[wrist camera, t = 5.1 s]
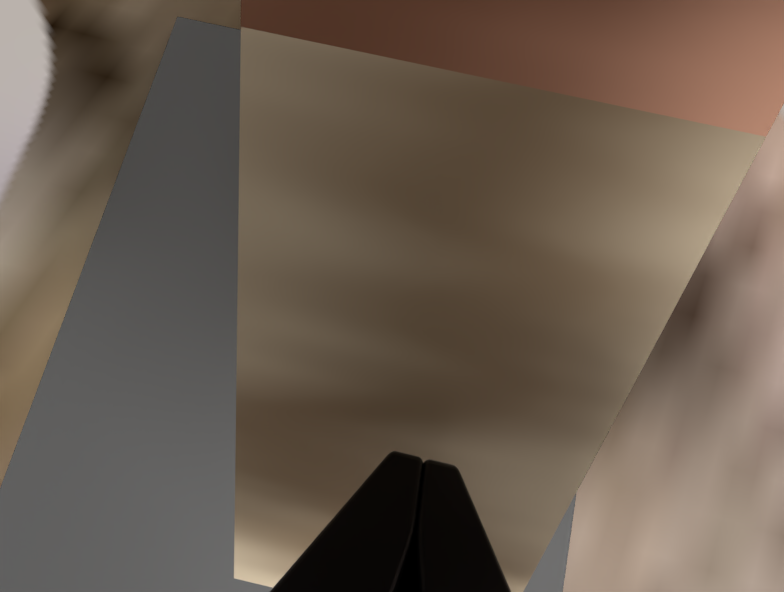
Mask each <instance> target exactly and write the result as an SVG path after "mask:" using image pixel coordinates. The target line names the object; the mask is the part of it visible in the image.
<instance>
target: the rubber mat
mask: <svg viewBox="0 0 784 592" xmlns="http://www.w3.org/2000/svg"><path fill="white" fill-rule="evenodd" d="M240 55H241V30H239V29H234V28H229V27H225V26H220V25H215V24H210V23H205V22H201V21H196V20H191V19H186V18H182V17H177V19H176V22H175V25H174V27H173V30H172V33H171V35H170V38H169V41H168V43H167V46H166V49H165V51H164V54H163V57H162V59H161V62H160V65H159V67H158V70H157V72H156V75H155V78H154V80H153V83H152V86H151V88H150V91H149V94H148V96H147V99H146V102H145V104H144V107H143V110H142V112H141V115H140V118H139V120H138V123H137V126H136V128H135V131H134V134H133V136H132V139H131V142H130V144H129V147H128V150H127V152H126V155H125V158H124V160H123V163H122V166H121V168H120V171H119V174H118V176H117V179H116V182H115V184H114V187H113V190H112V192H111V195H110V198H109V200H108V203H107V206H106V208H105V211H104V213H103V216H102V219H101V221H100V224H99V227H98V229H97V232H96V235H95V237H94V240H93V243H92V245H91V248H90V251H89V253H88V256H87V259H86V261H85V264H84V267H83V269H82V272H81V275H80V277H79V280H78V283H77V285H76V288H75V291H74V293H73V296H72V299H71V301H70V304H69V307H68V309H67V312H66V315H65V317H64V320H63V323H62V325H61V328H60V331H59V333H58V336H57V339H56V341H55V344H54V347H53V349H52V352H51V354H50V357H49V360H48V362H47V365H46V368H45V370H44V373H43V376H42V378H41V381H40V384H39V386H38V389H37V392H36V394H35V397H34V400H33V402H32V405H31V408H30V410H29V413H28V416H27V418H26V421H25V424H24V426H23V429H22V432H21V434H20V437H19V440H18V442H17V445H16V448H15V450H14V453H13V456H12V458H11V461H10V464H9V466H8V469H7V472H6V474H5V477H4V480H3V482H2V485H1V488H0V592H270V591H271V589H272V587H268V586H264V585H260V584H255V583H251V582H247V581H243V580H239V579H235V578H234V532H235V452H236V373H237V293H238V214H239V134H240ZM575 499H576V494H575V496H574V498H573V499H572V501H571V503H570V505H569V507H568V509H567V511H566V513H565V514H564V516H563V518H562V520H561V522H560V524H559V526H558V528H557V529H556V531H555V533H554V535H553V537H552V539H551V541H550V542H549V544H548V546H547V548H546V550H545V552H544V554H543V556H542V557H541V559H540V561H539V563H538V565H537V567H536V569H535V571H534V572H533V574H532V576H531V578H530V580H529V582H528V584H527V586H526V587H525V589H524V591H523V592H563V585H564V578H565V571H566V564H567V556H568V549H569V542H570V535H571V528H572V521H573V514H574V506H575Z"/></svg>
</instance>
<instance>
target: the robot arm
mask: <svg viewBox="0 0 784 592" xmlns="http://www.w3.org/2000/svg"><path fill="white" fill-rule="evenodd" d="M270 592H511V590H510V587H509V585H508V583H507V580H506V578H505V576H504V573H503V571H502V569H501V566H500V564H499V562H498V559H497V557H496V555H495V552H494V550H493V548H492V545H491V543H490V541H489V538H488V536H487V534H486V531H485V529H484V527H483V524H482V522H481V520H480V517H479V515H478V513H477V510H476V508H475V506H474V503H473V501H472V499H471V496H470V494H469V492H468V489H467V487H466V485H465V482H464V480H463V478H462V475H461V473H460V471H459V469H458V468H457V467H456V466H455V465H452V464H448V463H443V462H439V461H435V460H431V459H428V460H426V461H425V462H424V463H423V461H422V459H421V458H420V457H418V456H415V455H411V454H406V453H402V452H398V451H392V452H390V453H389V454H388V455H387V456H386V457H385V458H384V459H383V460H382V462H381V463H380V464H379V465H378V466H377V467H376V469H375V470H374V471H373V472H372V473H371V474H370V476H369V477H368V478H367V479H366V480H365V481H364V483H363V484H362V485H361V486H360V487H359V488H358V490H357V491H356V492H355V493H354V494H353V495H352V496H351V498H350V499H349V500H348V501H347V502H346V503H345V505H344V506H343V507H342V508H341V509H340V510H339V512H338V513H337V514H336V515H335V516H334V517H333V519H332V520H331V521H330V522H329V523H328V524H327V526H326V527H325V528H324V529H323V530H322V531H321V533H320V534H319V535H318V536H317V537H316V538H315V539H314V541H313V542H312V543H311V544H310V545H309V546H308V548H307V549H306V550H305V551H304V552H303V553H302V555H301V556H300V557H299V558H298V559H297V560H296V562H295V563H294V564H293V565H292V566H291V567H290V569H289V570H288V571H287V572H286V573H285V574H284V576H283V577H282V578H281V579H280V580H279V581H278V582H277V584H276V585H275V586H274V587H273V588H272V589H271V591H270Z"/></svg>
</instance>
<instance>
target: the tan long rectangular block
mask: <svg viewBox="0 0 784 592" xmlns="http://www.w3.org/2000/svg"><path fill="white" fill-rule="evenodd" d="M783 104H784V0H241V55H240V134H239V214H238V293H237V373H236V452H235V532H234V578H235V579H239V580H243V581H247V582H251V583H255V584H260V585H264V586H268V587H272V588H273V587H274V586H275V585H276V584H277V582H278V581H279V580H280V579H281V578H282V577H283V576H284V574H285V573H286V572H287V571H288V570H289V569H290V567H291V566H292V565H293V564H294V563H295V562H296V560H297V559H298V558H299V557H300V556H301V555H302V553H303V552H304V551H305V550H306V549H307V548H308V546H309V545H310V544H311V543H312V542H313V541H314V539H315V538H316V537H317V536H318V535H319V534H320V533H321V531H322V530H323V529H324V528H325V527H326V526H327V524H328V523H329V522H330V521H331V520H332V519H333V517H334V516H335V515H336V514H337V513H338V512H339V510H340V509H341V508H342V507H343V506H344V505H345V503H346V502H347V501H348V500H349V499H350V498H351V496H352V495H353V494H354V493H355V492H356V491H357V490H358V488H359V487H360V486H361V485H362V484H363V483H364V481H365V480H366V479H367V478H368V477H369V476H370V474H371V473H372V472H373V471H374V470H375V469H376V467H377V466H378V465H379V464H380V463H381V462H382V460H383V459H384V458H385V457H386V456H387V455H388V454H389V453H390V452H392V451H398V452H402V453H406V454H411V455H415V456H418V457H420V458H421V459H422V461H423V463H424V462H425V461H426V460H428V459H431V460H435V461H439V462H443V463H448V464H452V465H455V466H456V467H457V468H458V469H459V471H460V473H461V475H462V478H463V480H464V482H465V485H466V487H467V489H468V492H469V494H470V496H471V499H472V501H473V503H474V506H475V508H476V510H477V513H478V515H479V517H480V520H481V522H482V524H483V527H484V529H485V531H486V534H487V536H488V538H489V541H490V543H491V545H492V548H493V550H494V552H495V555H496V557H497V559H498V562H499V564H500V566H501V569H502V571H503V573H504V576H505V578H506V580H507V583H508V585H509V587H510V590H511V592H523V591H524V589H525V587H526V586H527V584H528V582H529V580H530V578H531V576H532V574H533V572H534V571H535V569H536V567H537V565H538V563H539V561H540V559H541V557H542V556H543V554H544V552H545V550H546V548H547V546H548V544H549V542H550V541H551V539H552V537H553V535H554V533H555V531H556V529H557V528H558V526H559V524H560V522H561V520H562V518H563V516H564V514H565V513H566V511H567V509H568V507H569V505H570V503H571V501H572V499H573V498H574V496H575V494H576V492H577V490H578V488H579V486H580V484H581V483H582V481H583V479H584V477H585V475H586V473H587V471H588V469H589V468H590V466H591V464H592V462H593V460H594V458H595V456H596V454H597V453H598V451H599V449H600V447H601V445H602V443H603V441H604V439H605V438H606V436H607V434H608V432H609V430H610V428H611V426H612V424H613V423H614V421H615V419H616V417H617V415H618V413H619V411H620V409H621V408H622V406H623V404H624V402H625V400H626V398H627V396H628V394H629V393H630V391H631V389H632V387H633V385H634V383H635V381H636V379H637V378H638V376H639V374H640V372H641V370H642V368H643V366H644V364H645V363H646V361H647V359H648V357H649V355H650V353H651V351H652V349H653V348H654V346H655V344H656V342H657V340H658V338H659V336H660V334H661V333H662V331H663V329H664V327H665V325H666V323H667V321H668V319H669V318H670V316H671V314H672V312H673V310H674V308H675V306H676V304H677V303H678V301H679V299H680V297H681V295H682V293H683V291H684V289H685V288H686V286H687V284H688V282H689V280H690V278H691V276H692V274H693V273H694V271H695V269H696V267H697V265H698V263H699V261H700V259H701V258H702V256H703V254H704V252H705V250H706V248H707V246H708V244H709V243H710V241H711V239H712V237H713V235H714V233H715V231H716V229H717V228H718V226H719V224H720V222H721V220H722V218H723V216H724V214H725V213H726V211H727V209H728V207H729V205H730V203H731V201H732V199H733V198H734V196H735V194H736V192H737V190H738V188H739V186H740V184H741V183H742V181H743V179H744V177H745V175H746V173H747V171H748V169H749V168H750V166H751V164H752V162H753V160H754V158H755V156H756V154H757V153H758V151H759V149H760V147H761V145H762V143H763V141H764V139H765V138H766V136H767V134H768V132H769V130H770V128H771V126H772V124H773V123H774V121H775V119H776V117H777V115H778V113H779V111H780V109H781V108H782V106H783Z"/></svg>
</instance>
